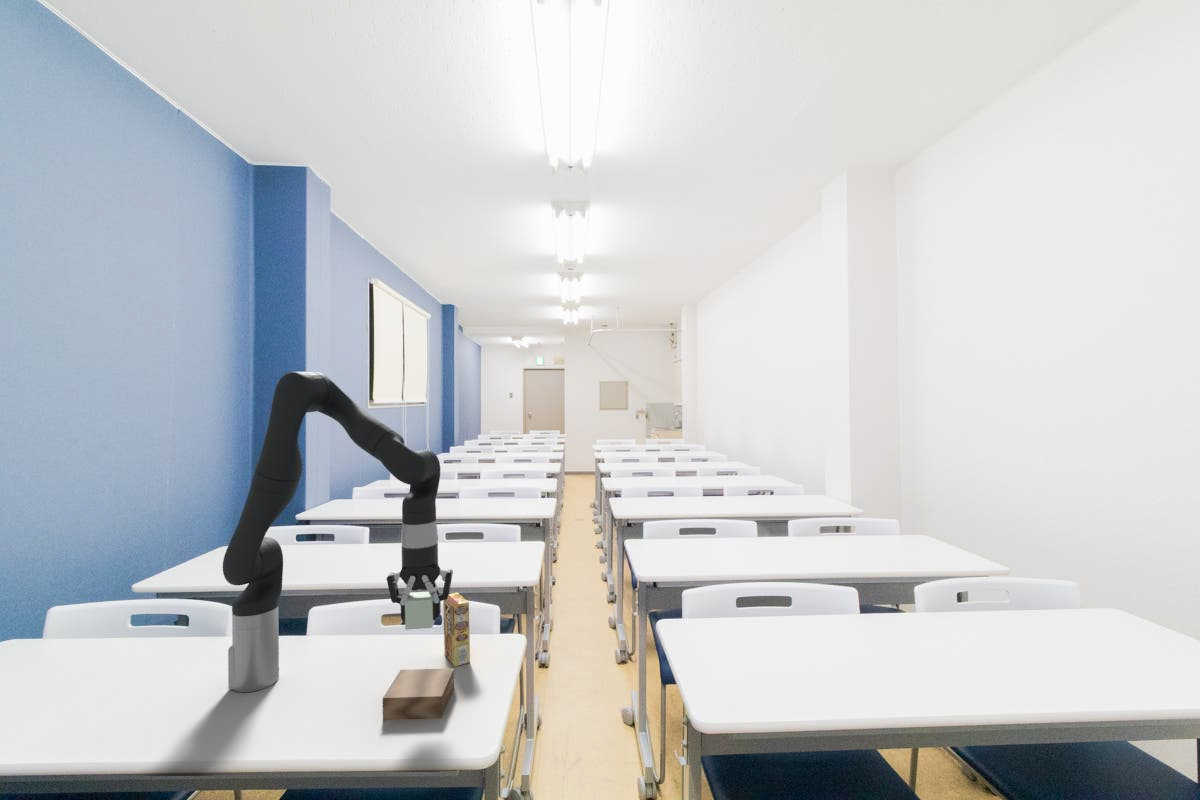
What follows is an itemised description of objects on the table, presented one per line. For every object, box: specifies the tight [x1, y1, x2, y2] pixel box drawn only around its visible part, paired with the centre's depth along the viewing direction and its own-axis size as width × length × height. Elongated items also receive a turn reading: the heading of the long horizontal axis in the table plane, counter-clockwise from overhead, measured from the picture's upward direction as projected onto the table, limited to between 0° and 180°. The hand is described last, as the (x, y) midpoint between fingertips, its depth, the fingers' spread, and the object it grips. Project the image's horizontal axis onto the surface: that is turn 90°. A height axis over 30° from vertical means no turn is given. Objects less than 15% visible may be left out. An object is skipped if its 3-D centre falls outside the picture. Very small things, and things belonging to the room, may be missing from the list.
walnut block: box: [382, 667, 455, 722], centre depth 121 cm, size 12×12×5 cm
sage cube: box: [404, 591, 436, 631], centre depth 122 cm, size 6×6×6 cm
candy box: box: [442, 592, 471, 667], centre depth 142 cm, size 9×4×15 cm, turn 33°
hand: (421, 619), depth 122 cm, fingers closed on sage cube, 5 cm apart
